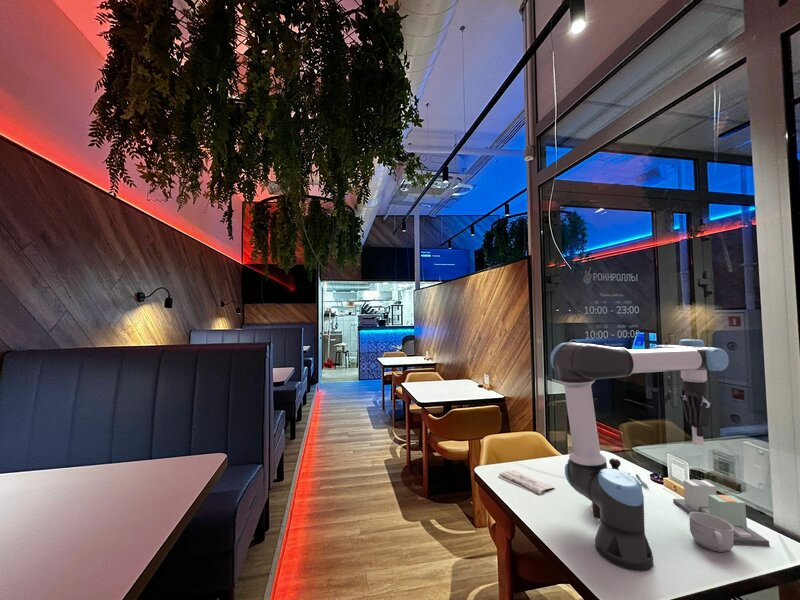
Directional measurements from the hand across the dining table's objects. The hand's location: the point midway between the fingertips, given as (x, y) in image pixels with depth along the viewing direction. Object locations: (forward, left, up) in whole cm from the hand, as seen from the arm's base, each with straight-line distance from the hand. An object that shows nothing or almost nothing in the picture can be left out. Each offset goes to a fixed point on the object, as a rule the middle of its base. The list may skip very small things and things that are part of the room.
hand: (698, 444), depth 128 cm
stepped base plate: (+3, -2, -26) cm, 27 cm away
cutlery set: (-19, +31, -27) cm, 45 cm away
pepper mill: (-32, +2, -27) cm, 42 cm away
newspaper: (-57, +23, -27) cm, 67 cm away
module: (+3, -7, -25) cm, 26 cm away
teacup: (-10, -18, -27) cm, 34 cm away
